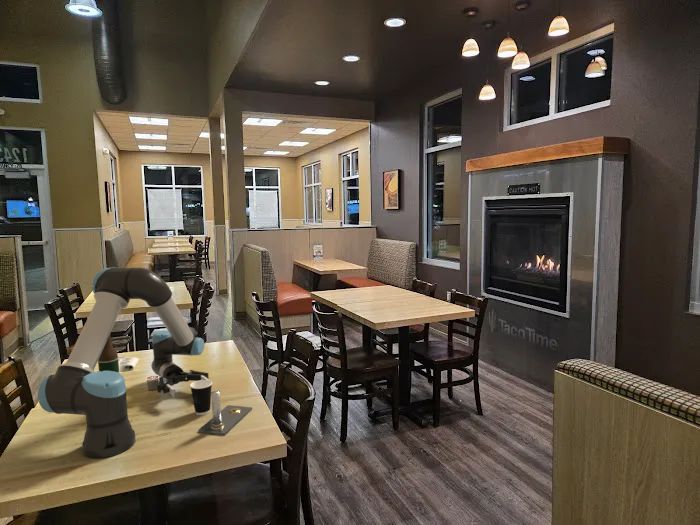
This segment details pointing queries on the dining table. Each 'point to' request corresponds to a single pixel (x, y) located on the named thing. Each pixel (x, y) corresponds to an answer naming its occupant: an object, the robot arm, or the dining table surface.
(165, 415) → the dining table surface
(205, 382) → the dixie cup
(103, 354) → the beer bottle
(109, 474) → the dining table surface
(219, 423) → the post
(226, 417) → the plate
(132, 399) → the dining table surface
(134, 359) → the folded newspaper
